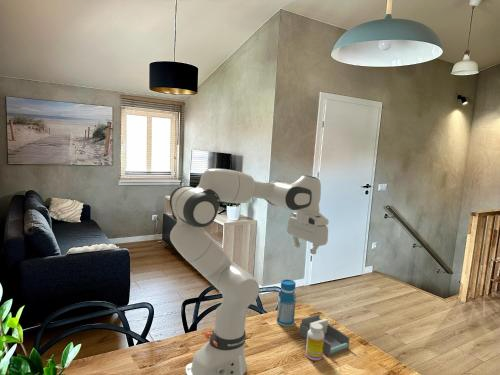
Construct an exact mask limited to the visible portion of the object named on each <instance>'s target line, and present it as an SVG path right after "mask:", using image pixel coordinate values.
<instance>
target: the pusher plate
mask: <svg viewBox="0 0 500 375" xmlns="http://www.w3.org/2000/svg"><path fill="white" fill-rule="evenodd" d="M321 319H322V318H321ZM312 323H319V324H321V325H322V326H323V329H322V332H323V333H324V334H325V333H327V327H328V324H329V320H328V319H327V318H323V319H322V320H319V321H315V322H312ZM312 323H310V327H311V324H312ZM310 327H309V329H311V328H310Z"/></svg>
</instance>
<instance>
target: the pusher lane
mask: <svg viewBox="0 0 500 375" xmlns="http://www.w3.org/2000/svg"><path fill="white" fill-rule="evenodd" d="M319 320H322V318H321V316H320V314H319V313H317V314H314V315H311V316H308V317H304V318H301V323H299V335H300V336H301V337H302V338H303V339H305V340H306V341H307V333H308V331H309V330H310V329H309V327H310V323H312V322H315V321H319ZM349 348H350V336H348V335H347V334H346V333H344V332H343V331H340V330H339V329H338V328H336V327H334V326H333V325H331V324H330V323H328V327H327V333H325V334H324V346H323V354H325V355H326V356H328V357H331V356H333V355H337V354H339V353H341V352H343V351H346V350H348V349H349Z"/></svg>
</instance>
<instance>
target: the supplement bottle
mask: <svg viewBox="0 0 500 375" xmlns="http://www.w3.org/2000/svg"><path fill="white" fill-rule="evenodd" d="M310 328H311V329H310V330H309V331H308V333H307V340H306V346H305V347H306V348H305V355H306V357H307V358H308V359H310V360H312V361H320V360H321V359H322V358H323V354H324V352H323V346H324V333H323V332H322V329H323V326H322V325H321V324H319V323H312V324H311V327H310Z"/></svg>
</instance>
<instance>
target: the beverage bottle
mask: <svg viewBox="0 0 500 375" xmlns="http://www.w3.org/2000/svg"><path fill="white" fill-rule="evenodd" d="M295 291H296V281H294V280H292V279H283V280H281V282H280V291H279V293H278V299H277V303H278V305H277V317H276V321H277V322H276V323H278V325H281V326H282V327H291V326H293V325H294V323H295V314H296V313H295V311H296V305H297V299H296V298H297V294H296V292H295Z"/></svg>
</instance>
